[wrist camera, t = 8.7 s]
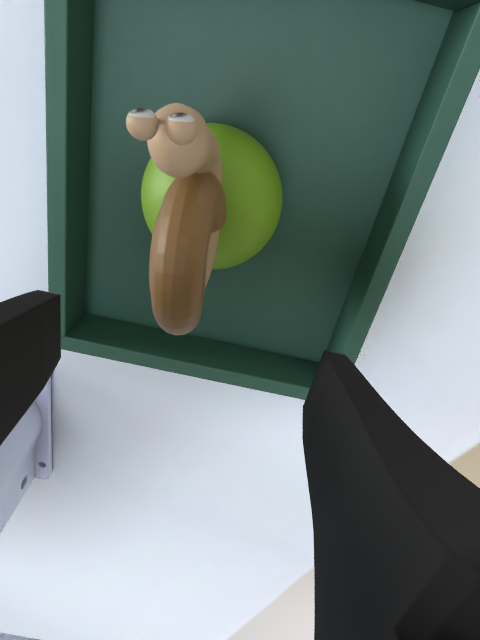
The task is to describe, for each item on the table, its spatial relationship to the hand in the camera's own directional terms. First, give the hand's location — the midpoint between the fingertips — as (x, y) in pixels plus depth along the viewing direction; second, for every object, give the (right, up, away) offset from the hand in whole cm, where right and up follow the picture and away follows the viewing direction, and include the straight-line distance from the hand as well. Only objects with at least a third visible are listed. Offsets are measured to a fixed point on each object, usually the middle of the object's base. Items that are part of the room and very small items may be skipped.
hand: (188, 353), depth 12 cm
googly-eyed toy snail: (+1, +7, +7) cm, 10 cm away
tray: (+1, +7, +8) cm, 11 cm away
